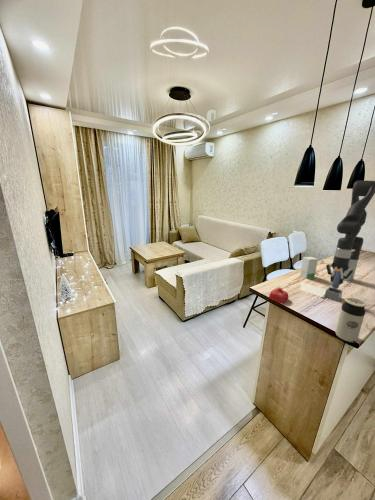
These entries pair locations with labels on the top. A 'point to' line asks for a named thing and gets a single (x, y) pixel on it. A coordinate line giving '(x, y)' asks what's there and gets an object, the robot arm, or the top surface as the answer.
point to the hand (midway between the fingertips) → (336, 282)
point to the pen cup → (333, 293)
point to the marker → (336, 279)
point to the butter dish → (279, 295)
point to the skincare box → (308, 267)
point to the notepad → (313, 290)
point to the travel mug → (350, 319)
